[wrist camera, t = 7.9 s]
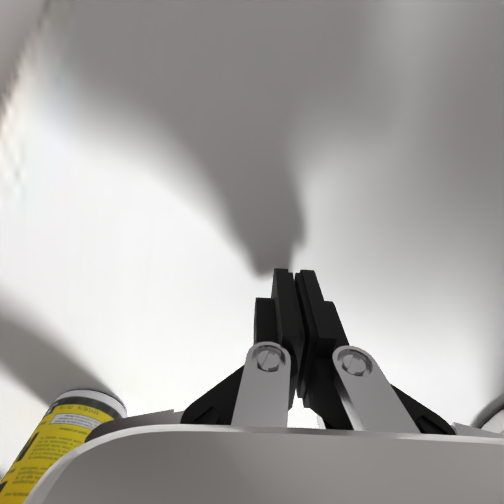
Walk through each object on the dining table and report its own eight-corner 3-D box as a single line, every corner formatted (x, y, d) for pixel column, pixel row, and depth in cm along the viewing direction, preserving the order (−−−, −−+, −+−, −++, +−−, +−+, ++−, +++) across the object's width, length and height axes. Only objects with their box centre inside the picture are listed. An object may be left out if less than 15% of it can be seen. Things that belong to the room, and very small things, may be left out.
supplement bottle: (52, 380, 18) (-95, 587, 10) (131, 393, 18) (46, 600, 11) (56, 426, 20) (-61, 624, 12) (127, 437, 20) (54, 633, 13)
